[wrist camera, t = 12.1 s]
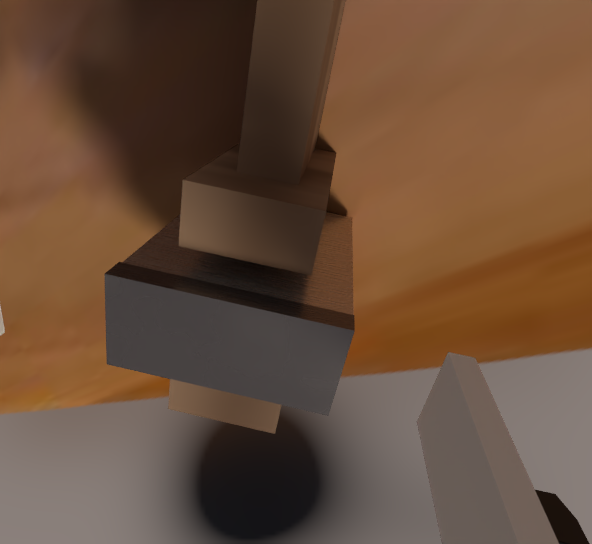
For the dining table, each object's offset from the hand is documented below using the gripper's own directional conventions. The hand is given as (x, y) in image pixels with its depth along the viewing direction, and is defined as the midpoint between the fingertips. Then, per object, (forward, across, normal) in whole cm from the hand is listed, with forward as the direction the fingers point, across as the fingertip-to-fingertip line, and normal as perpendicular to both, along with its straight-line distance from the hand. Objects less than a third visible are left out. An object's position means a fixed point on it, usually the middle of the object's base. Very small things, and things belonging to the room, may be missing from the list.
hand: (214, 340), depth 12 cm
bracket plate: (+10, 0, 0) cm, 10 cm away
